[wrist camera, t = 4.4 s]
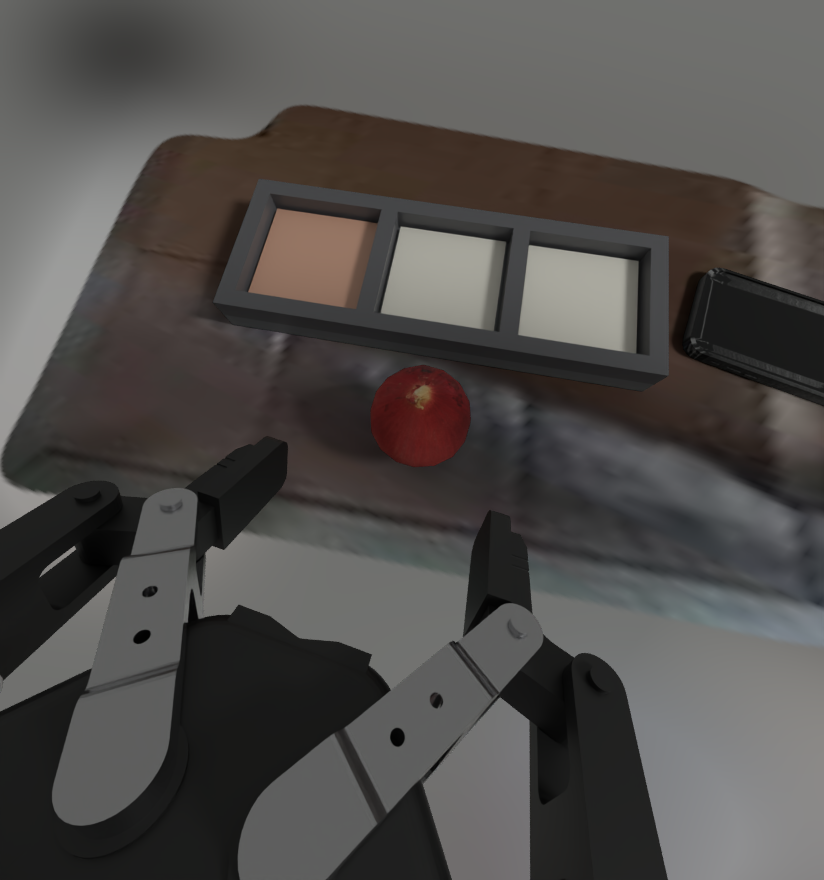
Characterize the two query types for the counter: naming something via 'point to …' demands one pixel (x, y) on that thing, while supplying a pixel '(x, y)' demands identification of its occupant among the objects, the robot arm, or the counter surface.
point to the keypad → (475, 288)
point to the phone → (758, 332)
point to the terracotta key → (314, 258)
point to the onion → (420, 416)
